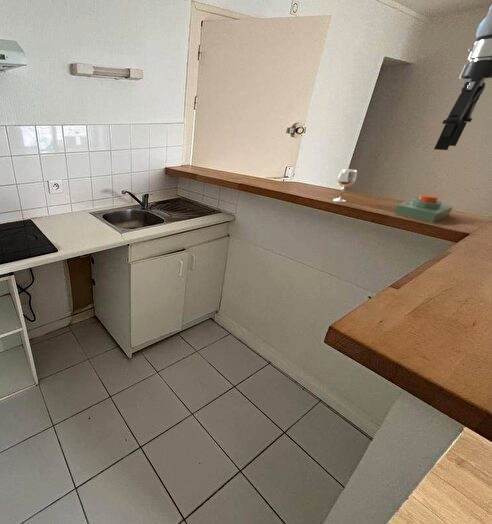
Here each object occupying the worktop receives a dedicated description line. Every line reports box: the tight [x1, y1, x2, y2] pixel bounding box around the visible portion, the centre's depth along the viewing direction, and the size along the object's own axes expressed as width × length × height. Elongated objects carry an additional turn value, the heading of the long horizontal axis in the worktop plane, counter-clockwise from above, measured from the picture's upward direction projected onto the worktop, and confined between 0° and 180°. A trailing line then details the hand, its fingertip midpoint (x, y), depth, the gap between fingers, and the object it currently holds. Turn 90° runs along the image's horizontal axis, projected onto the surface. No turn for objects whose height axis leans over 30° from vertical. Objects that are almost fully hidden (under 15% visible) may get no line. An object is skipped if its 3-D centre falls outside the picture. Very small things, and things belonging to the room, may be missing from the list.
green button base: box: [392, 197, 454, 223], centre depth 98 cm, size 14×11×5 cm
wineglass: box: [333, 168, 358, 203], centre depth 112 cm, size 6×6×12 cm
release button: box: [418, 193, 439, 203], centre depth 97 cm, size 4×4×2 cm
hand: (445, 147), depth 84 cm, fingers open, 13 cm apart
